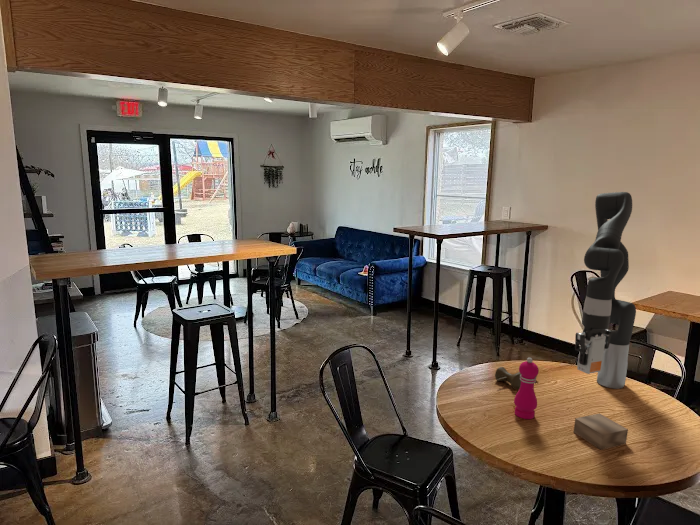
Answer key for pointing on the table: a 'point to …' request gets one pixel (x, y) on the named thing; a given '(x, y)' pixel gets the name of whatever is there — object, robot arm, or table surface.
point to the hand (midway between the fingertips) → (590, 362)
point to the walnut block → (600, 431)
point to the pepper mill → (526, 390)
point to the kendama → (508, 377)
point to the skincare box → (593, 355)
